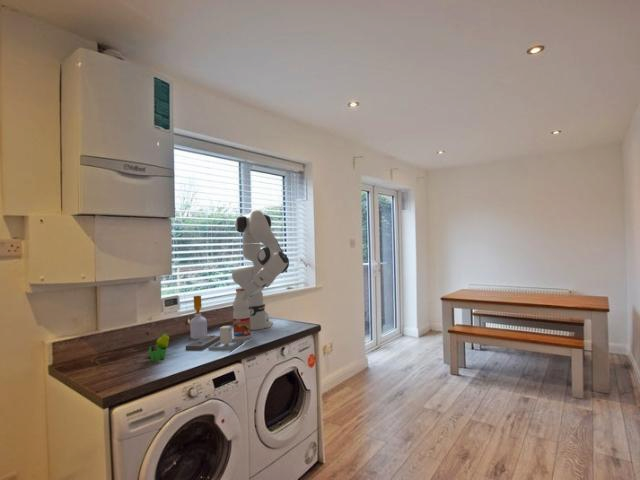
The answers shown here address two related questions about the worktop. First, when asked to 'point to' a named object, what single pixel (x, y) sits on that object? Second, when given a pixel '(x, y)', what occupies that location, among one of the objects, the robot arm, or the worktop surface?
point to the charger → (226, 335)
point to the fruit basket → (159, 348)
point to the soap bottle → (198, 321)
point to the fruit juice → (241, 316)
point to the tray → (213, 347)
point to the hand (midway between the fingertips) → (246, 298)
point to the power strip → (203, 342)
